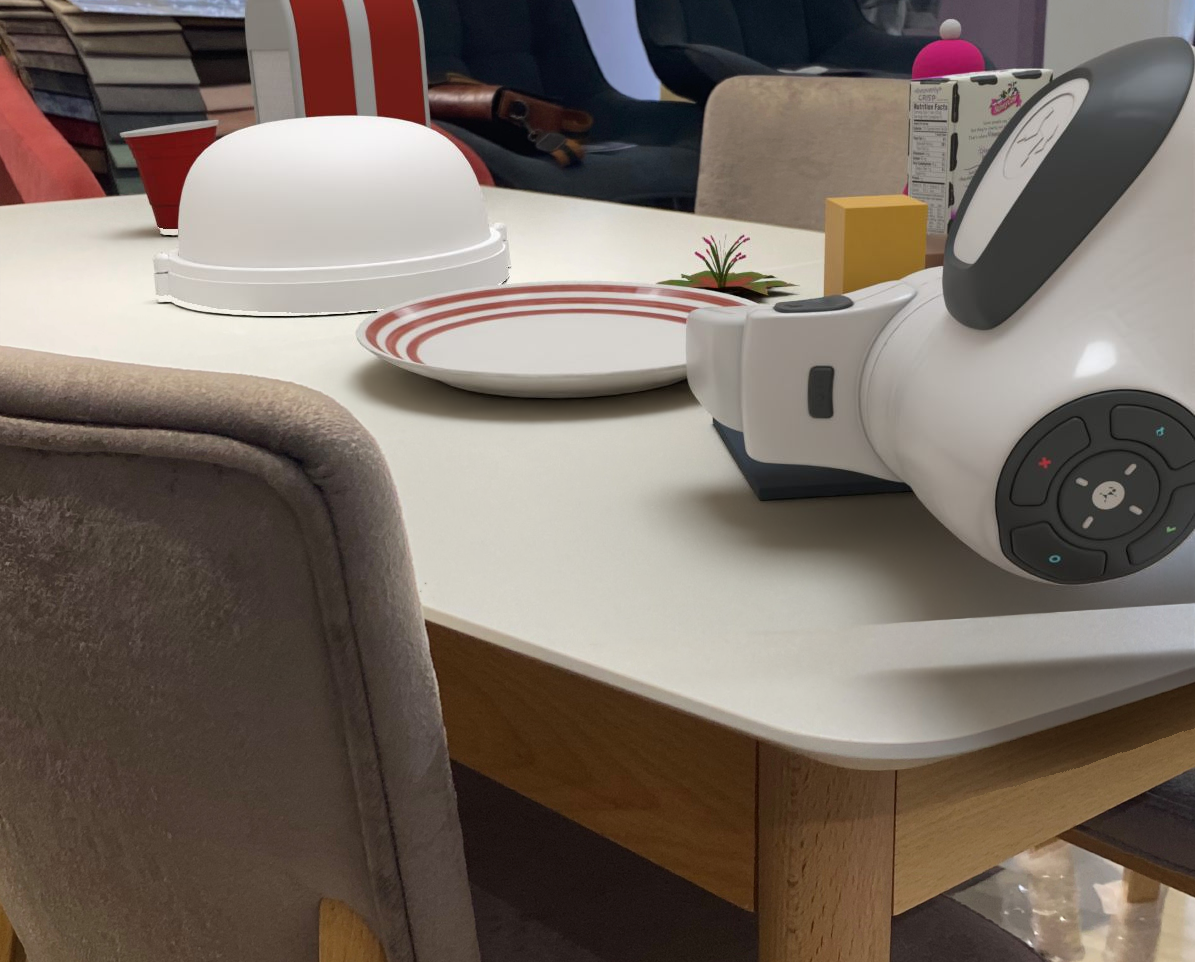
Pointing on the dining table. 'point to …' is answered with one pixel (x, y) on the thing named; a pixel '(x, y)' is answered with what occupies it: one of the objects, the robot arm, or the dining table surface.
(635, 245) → the dining table surface
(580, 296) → the dinner plate
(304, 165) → the dome cover
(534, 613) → the dining table surface
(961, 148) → the candy bar box
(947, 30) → the pepper mill
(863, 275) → the bar
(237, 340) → the dining table surface
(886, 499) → the dining table surface
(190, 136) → the plastic cup
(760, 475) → the mat
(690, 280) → the lily flower
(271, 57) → the red striped carton
